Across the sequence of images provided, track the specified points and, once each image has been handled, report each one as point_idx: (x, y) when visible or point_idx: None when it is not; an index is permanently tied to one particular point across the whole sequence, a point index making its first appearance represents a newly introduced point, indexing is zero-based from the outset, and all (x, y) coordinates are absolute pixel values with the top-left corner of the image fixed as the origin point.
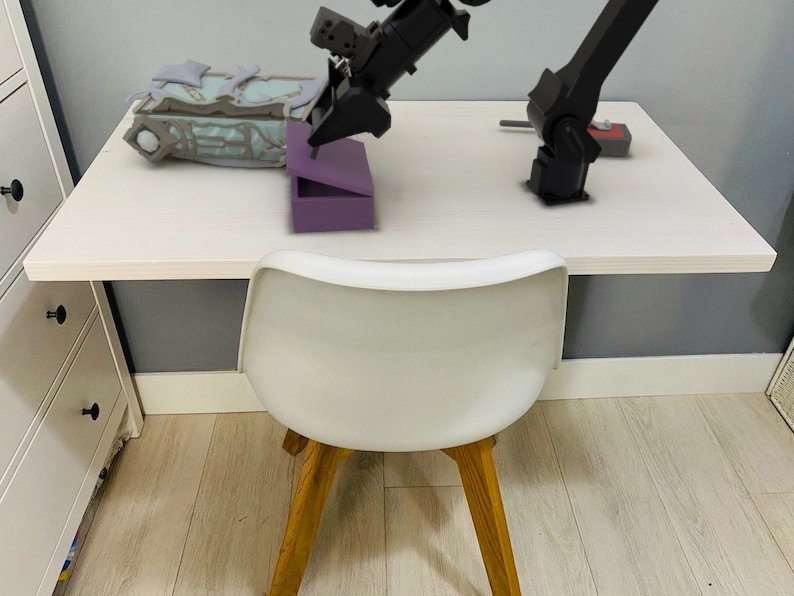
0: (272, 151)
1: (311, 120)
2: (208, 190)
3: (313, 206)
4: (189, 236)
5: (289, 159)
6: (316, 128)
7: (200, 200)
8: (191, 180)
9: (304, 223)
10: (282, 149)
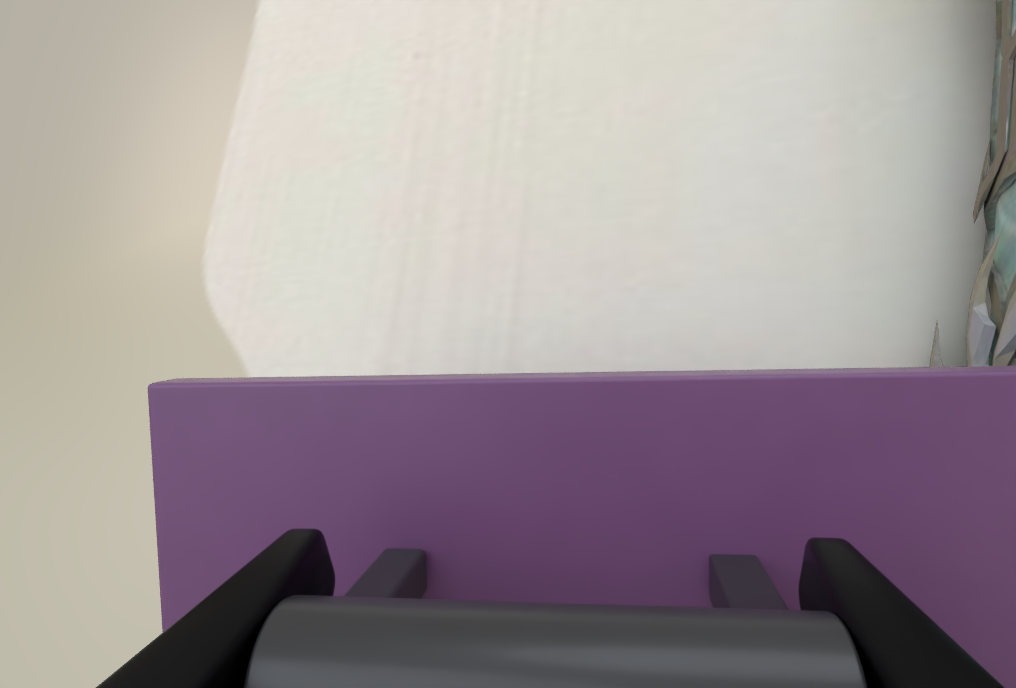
0: (970, 317)
1: (815, 599)
2: (735, 88)
3: None
4: (380, 81)
5: (263, 392)
6: (179, 640)
7: (646, 72)
8: (831, 10)
9: None
10: None
